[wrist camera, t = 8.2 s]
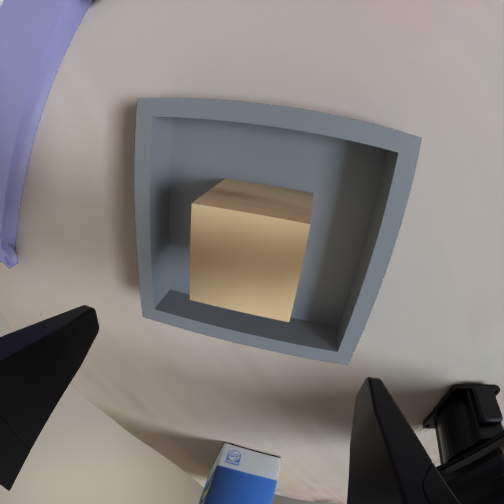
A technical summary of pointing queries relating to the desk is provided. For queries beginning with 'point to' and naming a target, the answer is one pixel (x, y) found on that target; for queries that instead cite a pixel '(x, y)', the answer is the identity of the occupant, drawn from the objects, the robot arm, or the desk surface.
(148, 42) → the desk surface
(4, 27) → the lavender slotted plate
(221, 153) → the tray
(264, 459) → the string lights box
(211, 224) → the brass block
